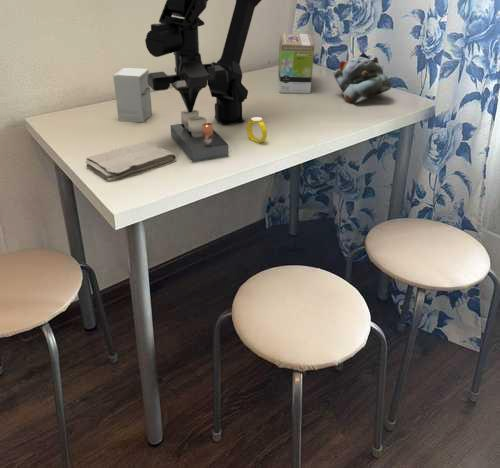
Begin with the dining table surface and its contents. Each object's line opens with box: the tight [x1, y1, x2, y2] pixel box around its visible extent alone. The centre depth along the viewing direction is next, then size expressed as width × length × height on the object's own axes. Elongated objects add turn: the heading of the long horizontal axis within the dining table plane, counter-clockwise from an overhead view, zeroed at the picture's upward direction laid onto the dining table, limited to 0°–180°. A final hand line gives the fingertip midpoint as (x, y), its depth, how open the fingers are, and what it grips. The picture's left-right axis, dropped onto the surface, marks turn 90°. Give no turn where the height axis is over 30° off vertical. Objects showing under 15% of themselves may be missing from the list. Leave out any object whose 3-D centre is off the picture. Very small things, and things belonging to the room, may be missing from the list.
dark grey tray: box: [170, 123, 230, 163], centre depth 142 cm, size 9×17×3 cm, turn 23°
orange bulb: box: [202, 122, 214, 146], centre depth 134 cm, size 2×2×5 cm
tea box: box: [277, 33, 315, 94], centre depth 180 cm, size 15×10×15 cm
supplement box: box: [113, 67, 153, 123], centre depth 156 cm, size 7×7×13 cm
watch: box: [246, 116, 268, 144], centre depth 144 cm, size 6×3×6 cm, turn 43°
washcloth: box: [85, 140, 177, 182], centre depth 133 cm, size 12×18×3 cm, turn 132°
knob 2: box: [188, 115, 207, 138], centre depth 141 cm, size 4×4×6 cm
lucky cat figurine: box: [333, 52, 392, 105], centre depth 171 cm, size 15×12×14 cm
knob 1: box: [180, 108, 200, 130], centre depth 145 cm, size 4×4×6 cm
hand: (190, 111), depth 144 cm, fingers closed, pressing on knob 1
